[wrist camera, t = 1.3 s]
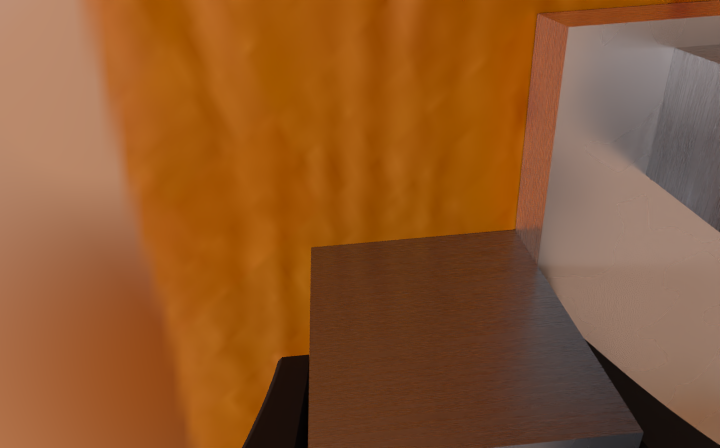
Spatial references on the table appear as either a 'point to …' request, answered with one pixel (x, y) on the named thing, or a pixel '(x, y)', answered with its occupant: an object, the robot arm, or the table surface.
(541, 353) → the housing
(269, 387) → the robot arm
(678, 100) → the frame
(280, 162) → the table surface
